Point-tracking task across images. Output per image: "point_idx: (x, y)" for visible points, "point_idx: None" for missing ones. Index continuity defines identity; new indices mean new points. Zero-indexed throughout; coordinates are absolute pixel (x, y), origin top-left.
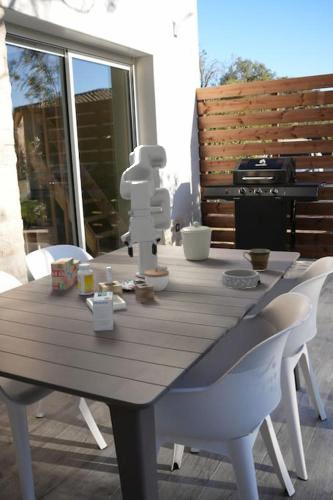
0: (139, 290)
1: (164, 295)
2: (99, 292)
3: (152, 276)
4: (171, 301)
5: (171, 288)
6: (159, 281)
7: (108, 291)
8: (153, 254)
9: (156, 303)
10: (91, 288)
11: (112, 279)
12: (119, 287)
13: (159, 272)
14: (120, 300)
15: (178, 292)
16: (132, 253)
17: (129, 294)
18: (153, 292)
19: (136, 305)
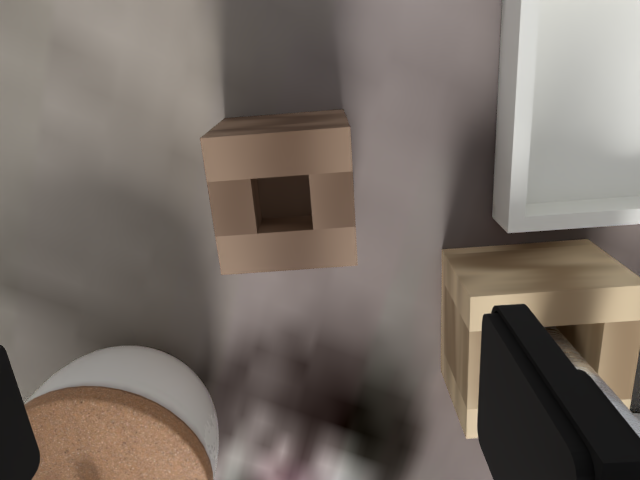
0: (348, 124)
1: (121, 217)
2: None
3: (156, 405)
4: (91, 23)
5: (44, 370)
6: (111, 362)
7: (579, 269)
8: (17, 385)
9: (224, 14)
10: None
11: None
12: (489, 286)
13: (74, 456)
14: (533, 60)
15: (3, 255)
16: (526, 346)
17: (365, 334)
18: (215, 127)
19: (395, 22)
